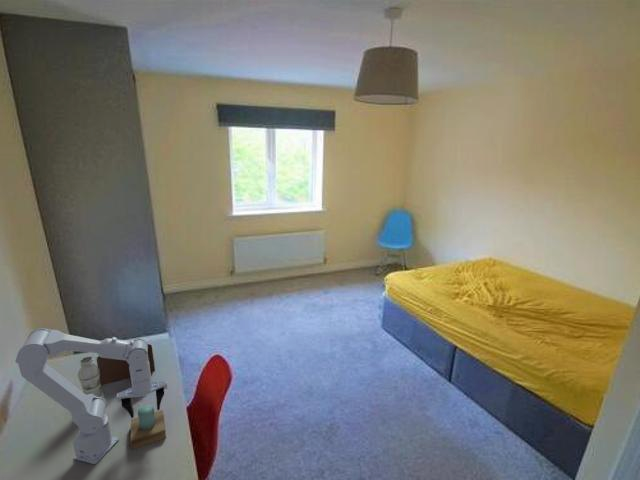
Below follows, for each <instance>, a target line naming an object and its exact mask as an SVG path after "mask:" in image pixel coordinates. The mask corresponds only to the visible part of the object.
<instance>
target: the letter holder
mask: <svg viewBox="0 0 640 480" xmlns="http://www.w3.org/2000/svg"><path fill="white" fill-rule="evenodd" d="M147 345H148V359H149V360H148V361H149V365H150V372H151V373H153V372H156V369H155V368H156V367H155V358H154V351H153V346H152V344H150V343H149V344H148V343H147ZM96 366H98V368H99V370H100V386H101V387H102V386H105V385H106V386H107V385H110V384H112V383H116V382H117V383H118V382H120V381H123V380H125V381H126V380H128V379H131V377H130V370H129V366H130V365H129V364H128V363H127V361H126V360H117V359H109V358H101V357H100V356H99V355H98V356H97V357H96Z"/></svg>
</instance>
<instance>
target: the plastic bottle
mask: <svg viewBox="0 0 640 480" xmlns="http://www.w3.org/2000/svg"><path fill="white" fill-rule="evenodd" d="M79 363H80V369H79V370H78V373H77V377H78V380H79V382H80V385H81V388H82V392H83V393H84V394H86V395H88V394H93V395H94V396H96V397H101V398H103V399H105V400H106V397H105V394H104V391H103V389H102V386H101V382H100V370H99V368H98V365H97V364H95V363H94V358H93V357H92V356H86V357H82V358H81V359H80V362H79Z"/></svg>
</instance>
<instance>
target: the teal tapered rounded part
mask: <svg viewBox="0 0 640 480" xmlns="http://www.w3.org/2000/svg"><path fill="white" fill-rule="evenodd" d="M155 412H156V411H155V406H154V405H152V404H145V405H142V406H141V407H139V408H138V410H137V418H139V425H140V429H141V430H149V429H151V428H153V427H154V426H155V424H156V420H155Z"/></svg>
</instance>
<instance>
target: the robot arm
mask: <svg viewBox="0 0 640 480" xmlns="http://www.w3.org/2000/svg"><path fill="white" fill-rule="evenodd" d="M147 344H148V343H147V341H146V340H144V339H141V338H135V339H133V340H124V339H118V337H116V336H112V337H107V338H104V339H102V340H98V339H93V338H87V337H83V336H78V335H72V334H68V333H64V332H62V331H60V330H58V329H48V328H36V329H35V330H33V331H31V332H30V333H29V334H28V336H27V338H26V340H25V342H24V343H23V345H22V347H21V348H20V349H19V350H18V352H17V355H16V358H15V363H16V364H18V369H19V371H20V375H21V377H22V378H23V379H25V380H26V381H28V383H30V384H31V385H33V386H34V387H35V388H37V389H38V390H40V391H41V392H43V393H44V394H46V395H47V396H48V397H49V398H51V400H54V401H55V402H56V403H58V405H60V406H62V407H63V408H65V409H66V410H67V411H69V412H70V415H71V417H72V420H73V423H74V424H75V425H76V426H77V427H78V430H79V433H78V435H77V436H76V437H75V439H73V442H72V444H73V450H74V457H73V458H74V460H77V461H80V462H81V461H82V462H84V463H87V464H88V463H89V464H92V465H95V464H97V463H98V462H99V461H100V460H101V459H102V458H103V457H104V456H105V455H106V454H107V453H108V452H109V451H110V449H112V448H113V447H114V446H115V444H117V443H118V441H119V440H120V438H119V437H115V436H112V433H111V427H110V422H109V421H110V420H109V417H108V415H107V414H106V408H107V405H108V404H107V400H106V398H105V399H103V398H101V397H96V396H94V395H93V394H88V395H86V394H84V393H83V390H80V389H79V388H78V387H77V386H76V385H74V384H73V383H71V382H70V381H69V380H68V379H67V378H65V376H63V375H61V374H60V373H59V372H57V371H56V370H55V369H54V368H52V367H51V366H50V365H49V364H47V361H48V357H50V359H51V358H54V357H56V356H58V355H60V354H61V353H63V352H79V353H83V352H84V353H92V354H93V353H96V354H97V355H98V356H100V357H101V358H109V359H117V360H126V361H127V363H128V364H129V365H130V366H129V370H130V377H131V378H130V382H131V387H129V388H128V389H125V390H123V391H120V392H117V393H116V402H117V403H120V402H121V407H122V408H123V409H124V410H126V411H127V413H128V414H129V416H130V417H131V419H135V417H134V416H135V412H134V407H133V402H132V398H141V397H145V396H147V395H149V394H152V393H153V392H155V396H156V397H155V398H156V410H157V411H161V410H160V409H161V408H160V407H161V403H162V400H163V397H164V395H165V390H166V389H168V381H167V380H160V381H152V374H151V373H152V372H150V365H149V361H148V360H149V359H148V345H147ZM48 355H49V356H48Z"/></svg>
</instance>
